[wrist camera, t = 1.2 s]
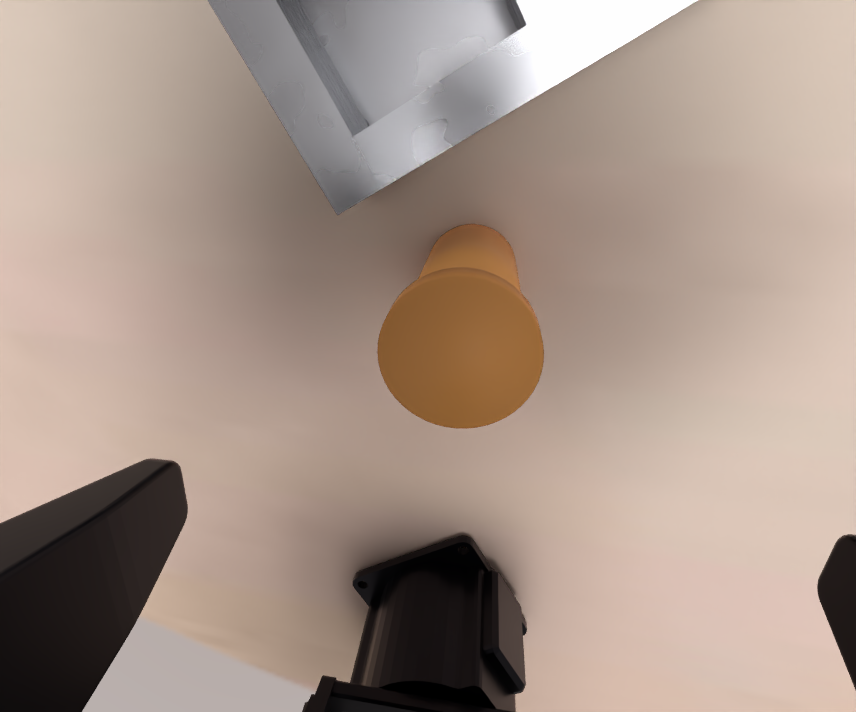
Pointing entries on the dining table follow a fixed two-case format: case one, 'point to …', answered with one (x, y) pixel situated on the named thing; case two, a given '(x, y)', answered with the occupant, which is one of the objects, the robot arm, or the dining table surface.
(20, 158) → the dining table surface
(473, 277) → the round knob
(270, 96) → the grey slotted base
